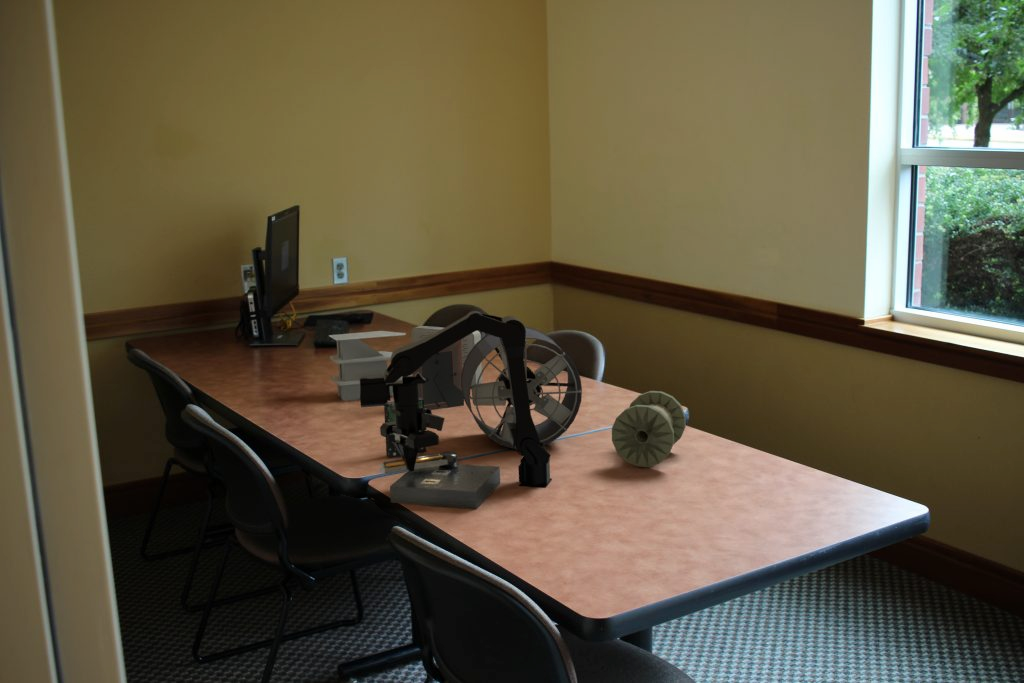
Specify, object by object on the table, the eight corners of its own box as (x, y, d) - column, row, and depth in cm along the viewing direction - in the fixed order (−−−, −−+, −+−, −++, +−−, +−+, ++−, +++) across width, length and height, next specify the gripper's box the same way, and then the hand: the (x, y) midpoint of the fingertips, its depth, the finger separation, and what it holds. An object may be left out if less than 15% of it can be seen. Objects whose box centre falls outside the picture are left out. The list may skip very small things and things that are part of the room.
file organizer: (308, 400, 320) (303, 334, 317) (411, 388, 334) (408, 324, 330) (327, 418, 297) (322, 347, 293) (437, 403, 311) (434, 335, 307)
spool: (672, 469, 239) (672, 408, 236) (612, 464, 244) (611, 404, 242) (685, 449, 254) (685, 392, 252) (628, 445, 259) (627, 389, 257)
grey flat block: (500, 483, 232) (499, 465, 232) (476, 509, 215) (475, 490, 215) (420, 478, 238) (419, 460, 237) (390, 503, 221) (389, 484, 220)
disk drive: (422, 451, 259) (420, 396, 257) (427, 454, 257) (424, 398, 254) (385, 458, 254) (382, 402, 252) (389, 461, 252) (386, 404, 249)
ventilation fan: (470, 456, 254) (466, 340, 249) (462, 436, 272) (458, 329, 267) (585, 447, 259) (583, 334, 253) (570, 429, 277) (567, 322, 271)
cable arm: (460, 466, 232) (459, 454, 231) (385, 478, 225) (384, 466, 224) (453, 461, 236) (453, 449, 235) (379, 473, 229) (379, 461, 228)
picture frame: (460, 407, 305) (458, 338, 301) (464, 408, 303) (461, 339, 299) (411, 415, 297) (407, 344, 294) (414, 417, 295) (411, 345, 291)
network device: (486, 388, 329) (484, 329, 325) (471, 394, 321) (469, 333, 318) (425, 381, 342) (422, 324, 339) (409, 387, 335) (406, 328, 331)
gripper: (457, 404, 221) (462, 472, 223) (419, 393, 236) (424, 456, 238) (412, 412, 215) (417, 482, 217) (376, 400, 231) (381, 465, 233)
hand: (411, 470), depth 226 cm, fingers closed
